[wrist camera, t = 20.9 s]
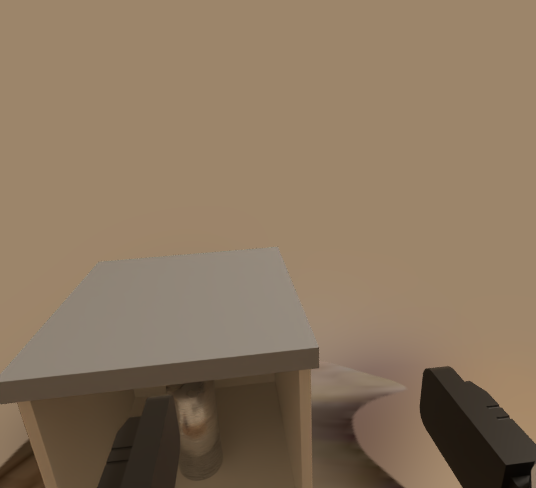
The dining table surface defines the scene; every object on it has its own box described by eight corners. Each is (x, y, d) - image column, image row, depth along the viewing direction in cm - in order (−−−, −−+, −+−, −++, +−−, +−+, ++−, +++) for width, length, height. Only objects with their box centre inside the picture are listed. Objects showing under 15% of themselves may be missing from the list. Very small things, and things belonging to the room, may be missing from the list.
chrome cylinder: (222, 440, 50) (214, 364, 46) (223, 477, 44) (213, 395, 41) (181, 445, 49) (169, 369, 45) (177, 483, 44) (162, 401, 40)
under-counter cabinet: (283, 383, 62) (277, 246, 54) (320, 548, 38) (318, 347, 30) (128, 401, 59) (98, 261, 52) (65, 588, 36) (-8, 382, 28)
